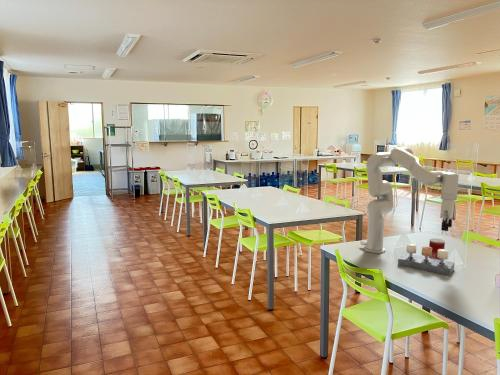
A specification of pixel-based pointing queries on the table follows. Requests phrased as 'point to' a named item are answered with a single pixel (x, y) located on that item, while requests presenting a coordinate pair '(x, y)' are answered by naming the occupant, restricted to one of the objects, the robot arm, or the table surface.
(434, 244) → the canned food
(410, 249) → the knob
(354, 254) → the table surface
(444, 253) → the knob
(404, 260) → the console
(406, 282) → the table surface
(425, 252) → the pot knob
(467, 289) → the table surface
